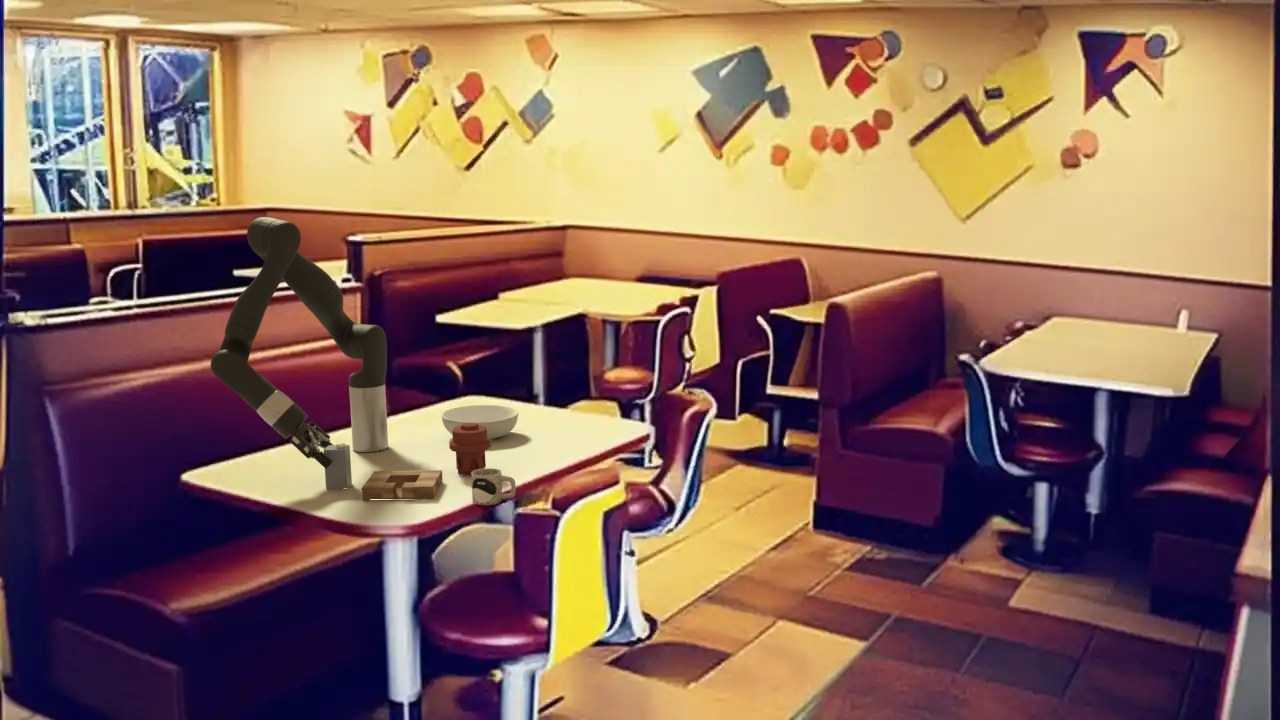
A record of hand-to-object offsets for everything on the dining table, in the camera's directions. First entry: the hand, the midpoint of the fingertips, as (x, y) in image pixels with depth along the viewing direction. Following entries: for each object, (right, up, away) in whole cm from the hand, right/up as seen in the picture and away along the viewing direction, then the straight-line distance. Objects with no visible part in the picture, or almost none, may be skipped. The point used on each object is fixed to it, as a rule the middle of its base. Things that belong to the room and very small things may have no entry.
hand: (334, 460), depth 275 cm
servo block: (+1, -6, +1) cm, 6 cm away
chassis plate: (+17, -7, -3) cm, 19 cm away
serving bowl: (+28, +2, +48) cm, 56 cm away
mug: (+39, -8, -12) cm, 42 cm away
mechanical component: (+31, -4, +11) cm, 33 cm away
